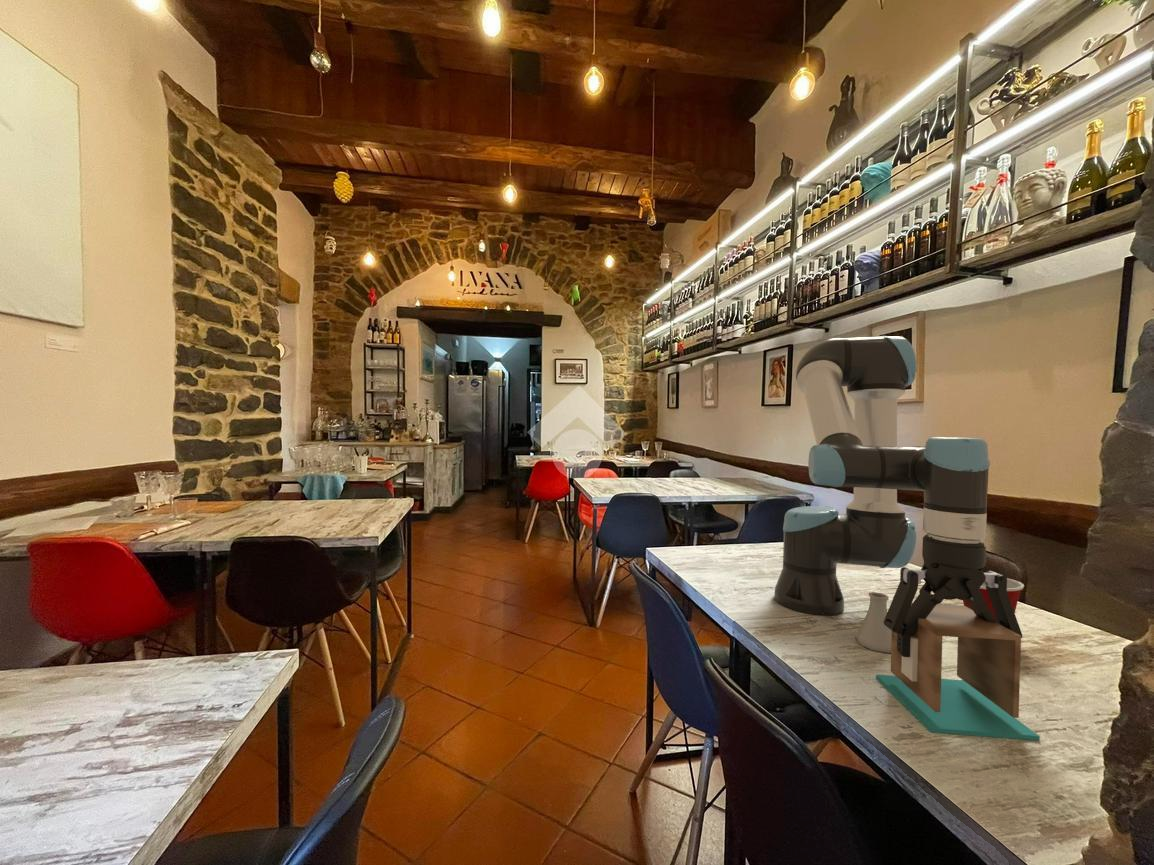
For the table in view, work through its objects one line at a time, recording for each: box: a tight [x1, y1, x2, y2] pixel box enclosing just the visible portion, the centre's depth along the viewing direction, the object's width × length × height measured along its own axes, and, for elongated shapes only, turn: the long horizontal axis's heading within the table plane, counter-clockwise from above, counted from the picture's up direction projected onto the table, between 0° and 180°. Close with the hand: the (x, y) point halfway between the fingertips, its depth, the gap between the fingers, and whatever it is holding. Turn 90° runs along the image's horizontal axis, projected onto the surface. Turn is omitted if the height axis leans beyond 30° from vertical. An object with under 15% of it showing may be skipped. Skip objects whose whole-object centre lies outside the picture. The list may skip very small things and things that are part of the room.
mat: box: [875, 674, 1041, 741], centre depth 71 cm, size 14×14×1 cm
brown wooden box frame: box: [890, 603, 1022, 719], centre depth 71 cm, size 11×11×12 cm
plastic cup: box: [962, 577, 1025, 619], centre depth 95 cm, size 11×11×12 cm
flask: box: [855, 591, 892, 654], centre depth 91 cm, size 7×7×10 cm
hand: (949, 679), depth 71 cm, fingers closed on brown wooden box frame, 11 cm apart
